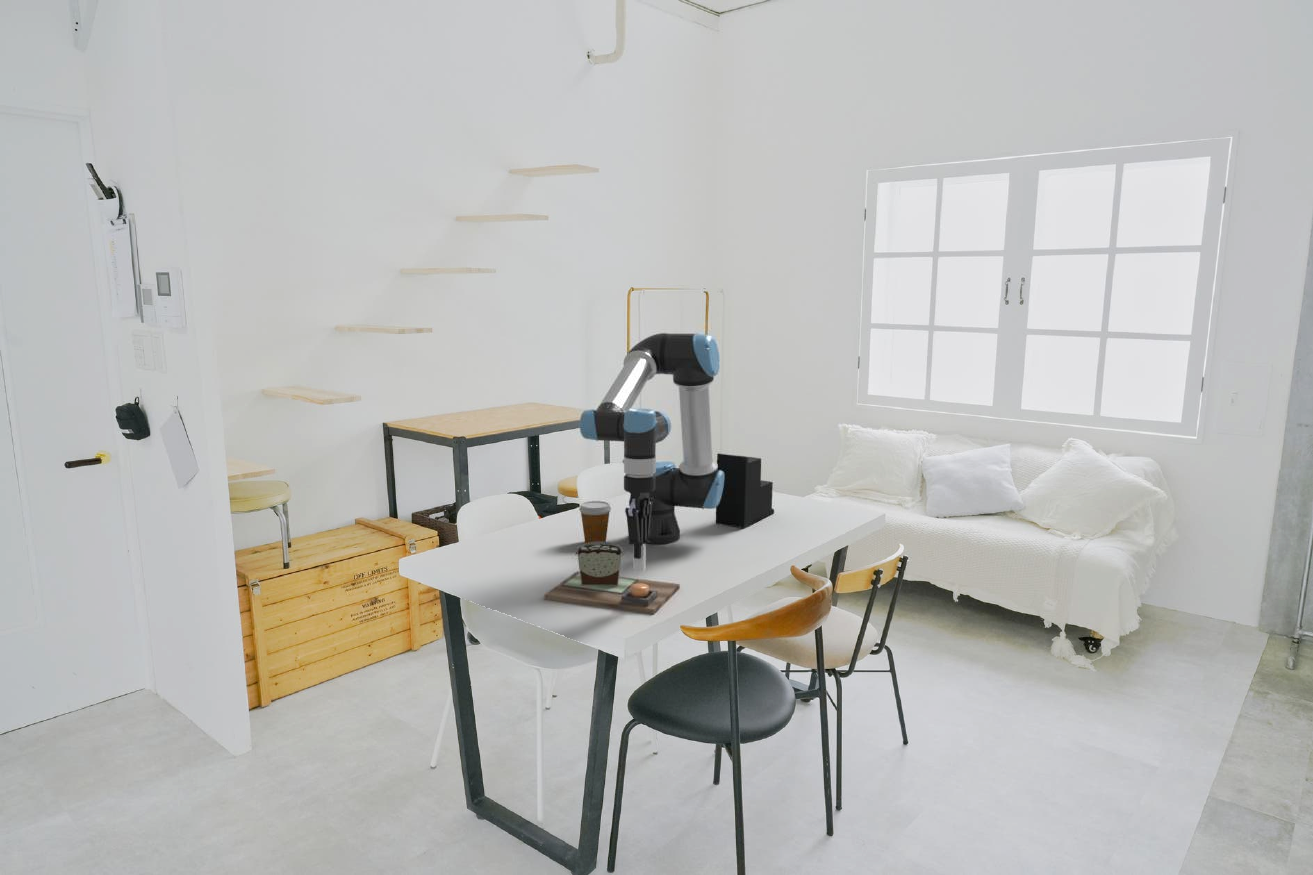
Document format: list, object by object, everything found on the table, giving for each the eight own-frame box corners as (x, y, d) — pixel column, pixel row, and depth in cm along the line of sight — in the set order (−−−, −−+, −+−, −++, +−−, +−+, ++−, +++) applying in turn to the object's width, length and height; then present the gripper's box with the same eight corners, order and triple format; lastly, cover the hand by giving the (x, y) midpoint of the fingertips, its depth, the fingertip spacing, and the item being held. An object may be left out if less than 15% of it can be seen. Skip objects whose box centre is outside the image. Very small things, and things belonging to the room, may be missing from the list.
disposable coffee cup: (579, 538, 269) (579, 500, 267) (610, 538, 270) (610, 500, 267) (579, 547, 259) (578, 508, 257) (611, 547, 260) (611, 508, 258)
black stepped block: (746, 509, 306) (748, 443, 301) (775, 513, 300) (776, 446, 296) (714, 524, 286) (715, 453, 282) (744, 529, 280) (746, 457, 276)
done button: (634, 590, 216) (634, 582, 215) (651, 592, 214) (651, 584, 214) (627, 596, 212) (627, 588, 211) (644, 598, 210) (644, 590, 210)
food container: (625, 577, 229) (624, 541, 227) (623, 585, 223) (623, 548, 221) (577, 577, 229) (577, 540, 227) (575, 585, 223) (575, 547, 221)
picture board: (576, 575, 235) (576, 565, 234) (679, 588, 225) (679, 578, 225) (544, 599, 217) (544, 588, 217) (654, 614, 207) (654, 602, 207)
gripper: (634, 468, 215) (634, 560, 219) (614, 478, 203) (614, 576, 207) (663, 470, 213) (662, 564, 216) (644, 480, 201) (644, 579, 204)
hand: (639, 569), depth 212 cm, fingers closed
